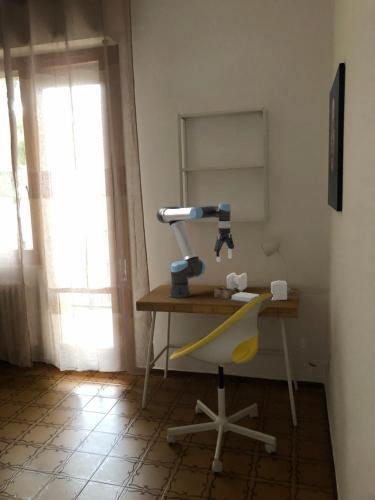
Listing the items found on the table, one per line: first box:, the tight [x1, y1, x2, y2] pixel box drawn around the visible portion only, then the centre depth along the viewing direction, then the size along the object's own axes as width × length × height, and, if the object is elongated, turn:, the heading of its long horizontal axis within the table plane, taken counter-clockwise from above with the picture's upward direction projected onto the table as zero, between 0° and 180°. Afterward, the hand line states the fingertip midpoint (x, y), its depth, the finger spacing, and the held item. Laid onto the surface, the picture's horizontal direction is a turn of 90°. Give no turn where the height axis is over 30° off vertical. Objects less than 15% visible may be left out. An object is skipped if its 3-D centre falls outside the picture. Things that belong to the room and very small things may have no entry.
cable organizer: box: [225, 272, 248, 292], centre depth 293 cm, size 15×11×12 cm
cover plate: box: [231, 291, 260, 302], centre depth 265 cm, size 14×11×2 cm
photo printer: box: [270, 279, 288, 301], centre depth 261 cm, size 10×4×12 cm, turn 96°
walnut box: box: [213, 286, 237, 300], centre depth 275 cm, size 12×8×5 cm, turn 51°
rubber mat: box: [228, 298, 248, 304], centre depth 265 cm, size 16×14×1 cm
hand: (224, 260), depth 267 cm, fingers open, 13 cm apart
